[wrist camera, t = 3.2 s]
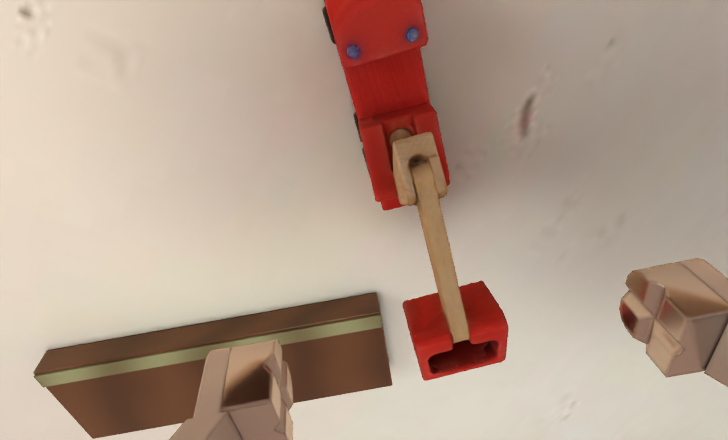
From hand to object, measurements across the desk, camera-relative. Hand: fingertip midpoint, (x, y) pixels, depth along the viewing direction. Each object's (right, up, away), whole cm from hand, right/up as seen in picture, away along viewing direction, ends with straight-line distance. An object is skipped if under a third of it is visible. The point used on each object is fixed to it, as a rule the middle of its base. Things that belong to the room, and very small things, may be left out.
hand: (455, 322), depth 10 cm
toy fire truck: (-1, +7, +11) cm, 13 cm away
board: (-11, -7, +18) cm, 22 cm away
